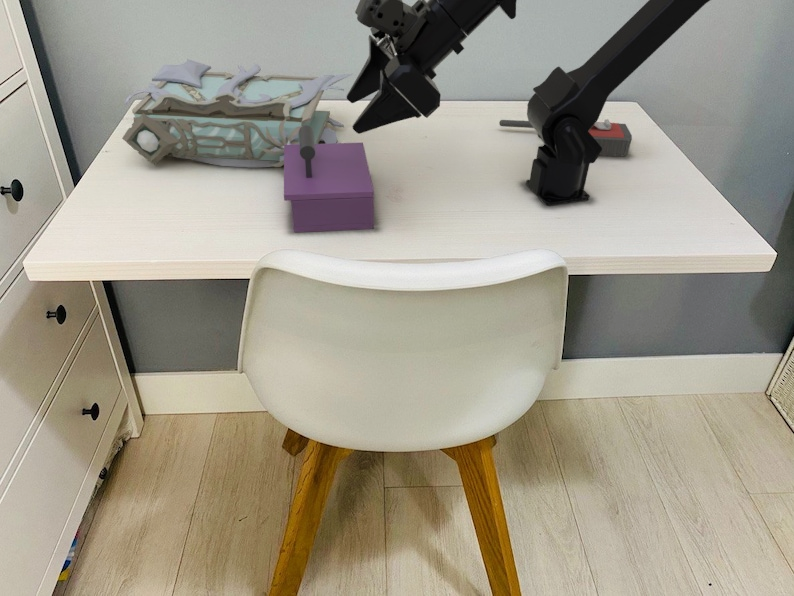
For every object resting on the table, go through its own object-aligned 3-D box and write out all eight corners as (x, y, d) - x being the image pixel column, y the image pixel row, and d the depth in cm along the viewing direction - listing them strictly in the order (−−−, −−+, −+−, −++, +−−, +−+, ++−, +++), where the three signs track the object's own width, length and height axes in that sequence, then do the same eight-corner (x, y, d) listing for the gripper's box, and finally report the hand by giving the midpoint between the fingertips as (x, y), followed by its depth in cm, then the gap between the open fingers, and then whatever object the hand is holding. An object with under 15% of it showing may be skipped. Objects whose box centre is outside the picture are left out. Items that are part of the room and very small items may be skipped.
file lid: (284, 200, 76) (280, 161, 73) (284, 150, 87) (281, 113, 84) (373, 197, 77) (373, 158, 74) (362, 147, 88) (362, 111, 85)
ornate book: (122, 175, 91) (337, 180, 89) (102, 108, 85) (332, 112, 83) (176, 113, 109) (355, 116, 107) (162, 54, 103) (353, 56, 101)
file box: (293, 232, 79) (291, 200, 76) (292, 179, 89) (290, 150, 87) (373, 228, 80) (373, 197, 77) (363, 177, 91) (362, 148, 88)
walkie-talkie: (623, 134, 105) (497, 128, 105) (630, 107, 102) (501, 101, 102) (636, 158, 98) (501, 151, 98) (644, 130, 95) (505, 123, 96)
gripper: (390, -58, 76) (299, 42, 81) (415, -21, 61) (302, 97, 66) (451, 14, 81) (362, 102, 87) (487, 64, 67) (378, 166, 72)
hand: (351, 114), depth 78 cm, fingers open, 9 cm apart
